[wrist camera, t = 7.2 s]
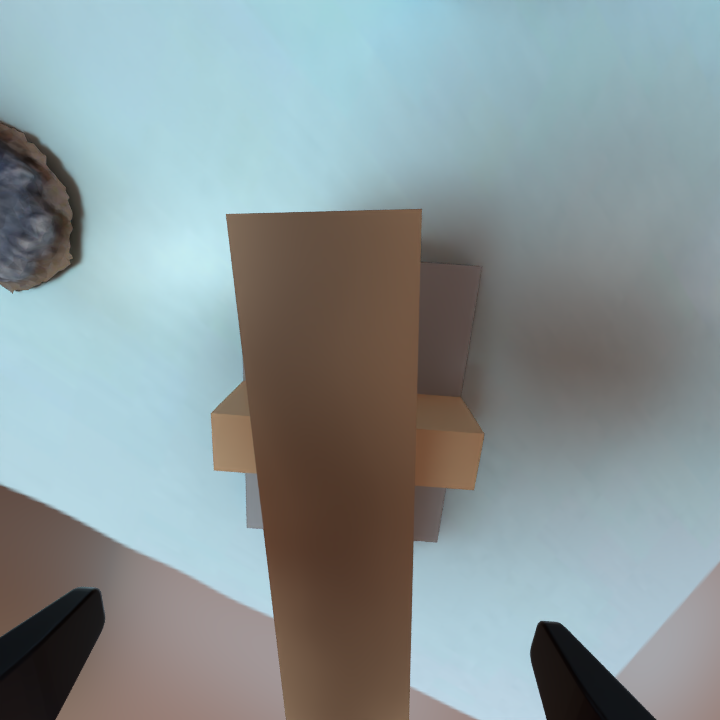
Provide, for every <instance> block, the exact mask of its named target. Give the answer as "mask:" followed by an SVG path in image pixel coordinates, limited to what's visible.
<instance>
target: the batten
mask: <svg viewBox="0 0 720 720" xmlns="http://www.w3.org/2000/svg"><path fill="white" fill-rule="evenodd" d="M226 219H227V227H228V236H229V244H230V252H231V261H232V269H233V278H234V286H235V295H236V303H237V311H238V320H239V328H240V337H241V345H242V353H243V362H244V370H245V379H246V387H247V395H248V404H249V412H250V421H251V429H252V437H253V446H254V454H255V463H256V471H257V480H258V488H259V496H260V505H261V513H262V522H263V530H264V538H265V547H266V555H267V564H268V572H269V580H270V589H271V597H272V606H273V614H274V622H275V631H276V639H277V648H278V656H279V664H280V673H281V681H282V689H283V698H284V706H285V715H286V720H409V698H410V658H411V619H412V579H413V539H414V499H415V459H416V419H417V379H418V340H419V300H420V260H421V220H422V209H402V210H364V211H326V212H288V213H250V214H226Z"/></svg>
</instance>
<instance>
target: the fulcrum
mask: <svg viewBox="0 0 720 720" xmlns="http://www.w3.org/2000/svg"><path fill="white" fill-rule="evenodd" d="M481 270H482V267H480V266H469V265H455V264H442V263H428V262H420V300H419V340H418V379H417V419H416V459H415V499H414V539H413V541H425V542H437V540H438V534H439V528H440V522H441V516H442V510H443V503H444V497H445V491H446V488H452V489H465V490H474V487H475V482H476V477H477V471H478V466H479V461H480V455H481V450H482V445H483V440H484V432H483V431H482V429H481V428H480V426H479V425H478V423H477V421H476V420H475V418H474V417H473V415H472V414H471V412H470V411H469V409H468V408H467V406H466V404H465V403H464V401H463V400H462V398H461V393H462V387H463V381H464V375H465V368H466V362H467V356H468V350H469V344H470V338H471V332H472V326H473V319H474V313H475V307H476V301H477V295H478V289H479V283H480V276H481ZM211 424H212V443H213V462H214V470H216V471H229V472H242V473H246V516H247V528H256V529H263V522H262V513H261V505H260V496H259V488H258V480H257V471H256V463H255V454H254V446H253V437H252V429H251V421H250V412H249V404H248V395H247V387H246V379H245V370H244V362H243V382H242V383H241V384H240V385H239V386H238V387H237V388H236V389H235V390H234V391H233V392H232V393H231V394H230V395H229V396H228V397H227V398H226V399H225V400H224V401H223V402H222V403H221V404H220V405H219V406H218V407H217V408H216V409H215V410H214V411H213V412H212V413H211Z"/></svg>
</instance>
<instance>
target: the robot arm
mask: <svg viewBox="0 0 720 720" xmlns="http://www.w3.org/2000/svg"><path fill="white" fill-rule="evenodd" d="M104 623H105V612H104V607H103V601H102V595H101V591H100V590H99V589H98V588H92V587H78V588H75V589H73V590H71V591H70V592H68V593H67V594H65V595H64V596H62V597H61V598H60V599H58V600H56V601H55V602H53V603H52V604H50V605H49V606H47V607H45V608H44V609H42V610H41V611H39V612H38V613H36V614H35V615H34V616H32V617H30V618H29V619H27V620H26V621H24V622H23V623H21V624H20V625H18V626H17V627H15V628H13V629H12V630H10V631H9V632H7V633H6V634H4V635H3V636H1V637H0V720H55V719H56V718H57V716H58V714H59V712H60V710H61V708H62V706H63V705H64V703H65V701H66V699H67V697H68V695H69V693H70V691H71V689H72V687H73V685H74V683H75V682H76V679H77V678H78V676H79V674H80V672H81V670H82V668H83V666H84V664H85V662H86V660H87V658H88V657H89V655H90V653H91V651H92V649H93V647H94V645H95V643H96V641H97V639H98V637H99V635H100V634H101V631H102V629H103V626H104ZM530 657H531V663H532V667H533V671H534V674H535V678H536V682H537V686H538V689H539V693H540V697H541V700H542V704H543V708H544V711H545V715H546V719H547V720H656V719H655V718H654V717H653V716H652V715H651V714H650V713H649V712H648V711H647V710H646V709H645V708H644V707H643V706H642V704H640V702H638V701H637V699H636V698H635V697H634V696H633V695H632V694H631V693H630V692H629V691H627V689H626V688H625V687H624V686H623V685H622V684H621V683H620V682H619V681H618V680H617V679H616V678H615V677H614V676H613V675H612V674H611V673H610V672H609V671H608V670H607V669H606V668H605V667H604V666H603V665H602V664H601V663H600V662H599V661H598V660H597V659H596V658H595V657H594V656H593V655H592V654H591V653H590V652H589V651H588V650H587V649H586V648H585V647H584V646H583V645H582V644H581V643H580V642H579V641H578V640H577V639H576V638H575V637H574V636H573V635H572V634H571V632H570V631H569V630H568V629H567V628H566V627H564V626H563V625H562V624H560V623H558V622H551V621H540V622H539V623H538V625H537V628H536V631H535V635H534V638H533V642H532V645H531V650H530Z"/></svg>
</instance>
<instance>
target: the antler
mask: <svg viewBox="0 0 720 720" xmlns="http://www.w3.org/2000/svg"><path fill="white" fill-rule="evenodd" d="M65 191H66V187H65V186H64V185H63V184H62V183H61V182H60V181H59V179H58V178H57V177H56V175H55V174H54V173H53V172H52V171H51V170H50V169H49V168H48V166H47V165H46V155H44V154H42V153H41V152H40V151H39V149H38V148H37V147H36V146H35V144H34V143H28V142H27V139H26V137H25V135H24V133H21V132H18V131H17V130H16V129H15V128H9V127H7V126H5V125H3V124H1V123H0V285H2V286H3V287H5V288H6V289H8V290H9V291H11V292H12V294H13V291H14V290H29V289H30V288H32V287H34V286H36V285H40V284H41V281H42V282H47V281H48V280H49V279H50V278H52V277H53V276H54V275H55V274H56V273H57V272H59V271H61V270H64V269H65V268H66V267H67V266H68V265H71V264H70V261H69V260H70V259H73V257H72V255H71V254H70V253H69V250H70V247H71V245H70V241H69V239H70V233H71V232H72V230H73V227H72V224H71V222H70V221H71V219H72V215H73V212H72V210H71V207H70V205H69V202H68V199H69V198H70V197H69V196H68V194H67V193H66V192H65Z"/></svg>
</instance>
